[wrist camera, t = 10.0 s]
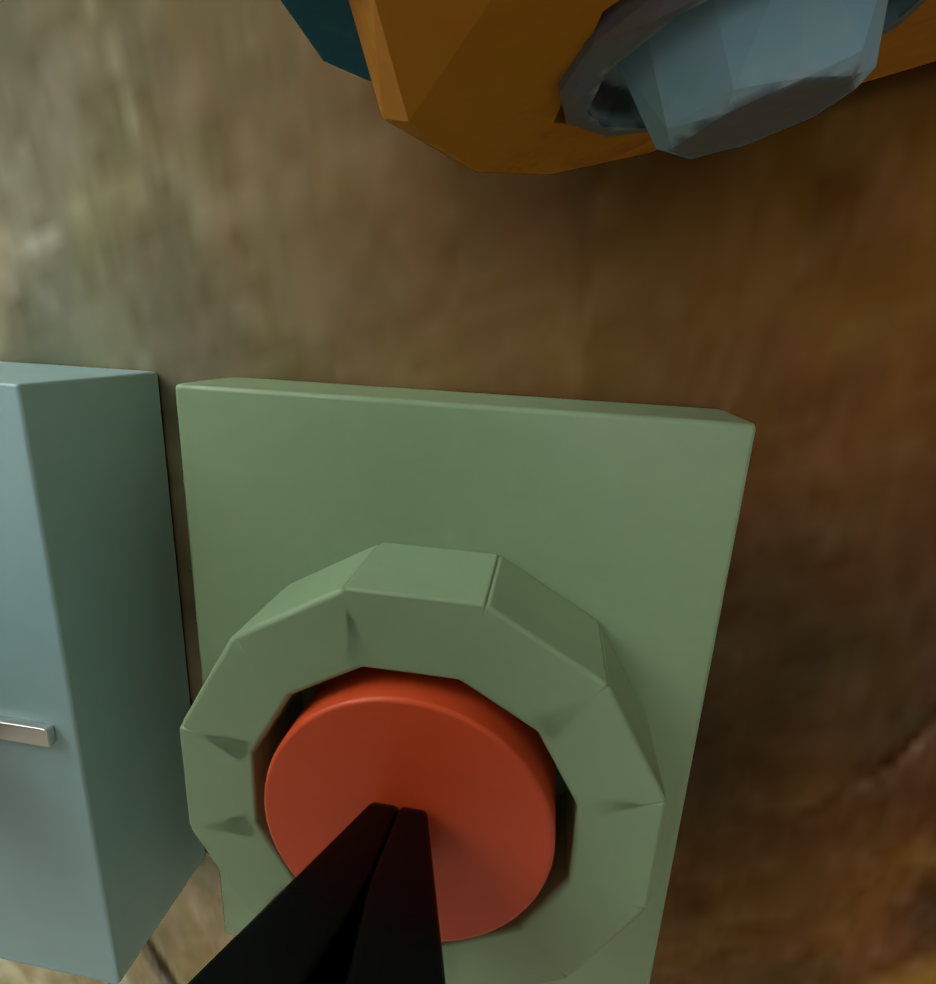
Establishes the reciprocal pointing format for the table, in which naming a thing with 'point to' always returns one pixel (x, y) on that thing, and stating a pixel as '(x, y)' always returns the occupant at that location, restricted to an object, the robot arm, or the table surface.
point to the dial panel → (88, 671)
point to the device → (610, 70)
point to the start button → (422, 787)
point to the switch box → (466, 618)
